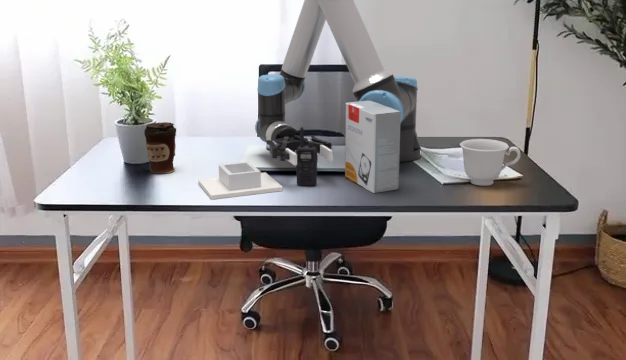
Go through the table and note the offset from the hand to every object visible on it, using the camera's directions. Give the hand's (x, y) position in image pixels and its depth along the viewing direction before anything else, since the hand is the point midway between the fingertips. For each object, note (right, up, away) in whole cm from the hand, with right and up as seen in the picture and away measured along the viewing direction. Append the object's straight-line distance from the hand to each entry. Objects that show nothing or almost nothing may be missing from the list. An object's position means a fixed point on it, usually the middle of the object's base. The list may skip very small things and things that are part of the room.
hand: (313, 157), depth 181 cm
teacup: (+44, -6, +6) cm, 45 cm away
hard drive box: (+15, -6, +7) cm, 17 cm away
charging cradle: (-18, -7, +4) cm, 20 cm away
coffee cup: (-41, -3, +19) cm, 45 cm away
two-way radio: (-2, -7, +7) cm, 9 cm away
